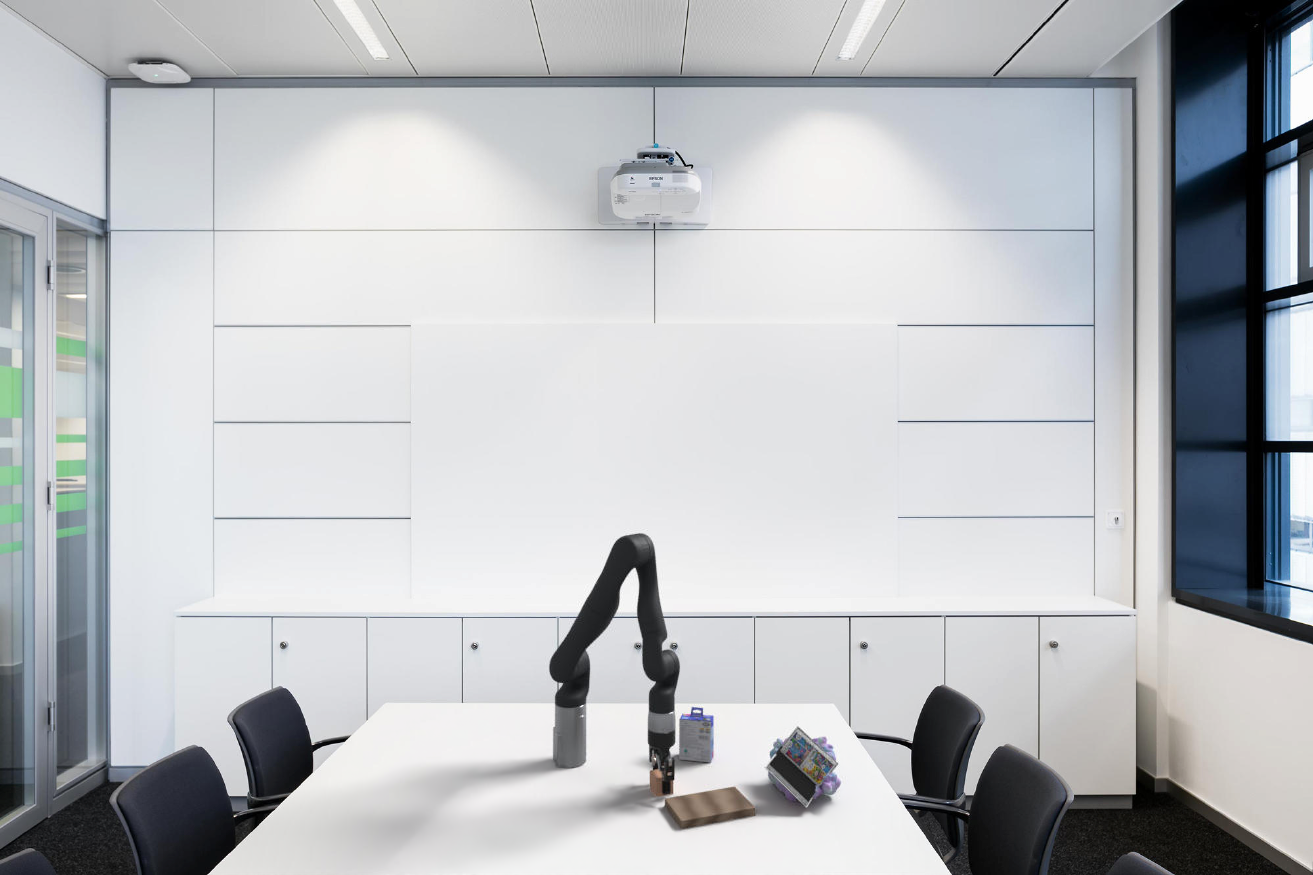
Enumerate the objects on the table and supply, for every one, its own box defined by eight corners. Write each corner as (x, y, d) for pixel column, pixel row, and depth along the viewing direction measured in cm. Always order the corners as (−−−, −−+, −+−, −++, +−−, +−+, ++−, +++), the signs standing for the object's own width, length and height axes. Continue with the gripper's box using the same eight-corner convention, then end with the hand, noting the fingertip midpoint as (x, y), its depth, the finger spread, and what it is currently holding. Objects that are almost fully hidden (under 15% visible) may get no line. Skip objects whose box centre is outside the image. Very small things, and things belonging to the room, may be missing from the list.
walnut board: (681, 829, 181) (681, 821, 181) (664, 806, 193) (664, 798, 193) (755, 815, 188) (755, 807, 188) (734, 793, 199) (734, 786, 199)
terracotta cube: (655, 797, 198) (655, 778, 198) (649, 788, 202) (649, 770, 202) (673, 794, 199) (673, 775, 199) (666, 785, 204) (666, 767, 204)
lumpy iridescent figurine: (823, 751, 215) (794, 702, 213) (869, 781, 195) (837, 726, 192) (771, 798, 209) (740, 748, 206) (812, 833, 189) (778, 778, 186)
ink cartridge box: (714, 755, 223) (714, 707, 223) (711, 763, 218) (712, 713, 218) (681, 752, 225) (682, 704, 225) (678, 760, 220) (678, 711, 220)
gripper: (640, 718, 206) (639, 777, 206) (657, 738, 193) (657, 801, 193) (665, 714, 209) (665, 773, 209) (684, 734, 195) (684, 797, 195)
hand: (661, 787), depth 201 cm, fingers open, 7 cm apart
